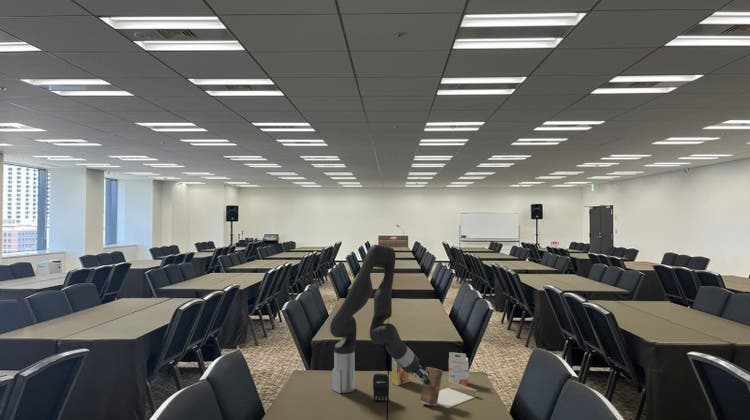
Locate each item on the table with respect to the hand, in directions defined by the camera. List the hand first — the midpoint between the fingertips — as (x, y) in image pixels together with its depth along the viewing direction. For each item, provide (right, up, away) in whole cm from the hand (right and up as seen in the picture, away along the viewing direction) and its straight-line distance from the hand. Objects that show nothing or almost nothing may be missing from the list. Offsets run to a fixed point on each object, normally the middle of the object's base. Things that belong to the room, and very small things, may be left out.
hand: (427, 382), depth 193 cm
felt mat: (+10, -9, +8) cm, 16 cm away
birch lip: (+17, -10, +14) cm, 24 cm away
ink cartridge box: (+18, -10, +26) cm, 33 cm away
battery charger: (-19, -10, +5) cm, 22 cm away
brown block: (0, -9, 0) cm, 9 cm away
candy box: (-9, -10, +27) cm, 31 cm away
